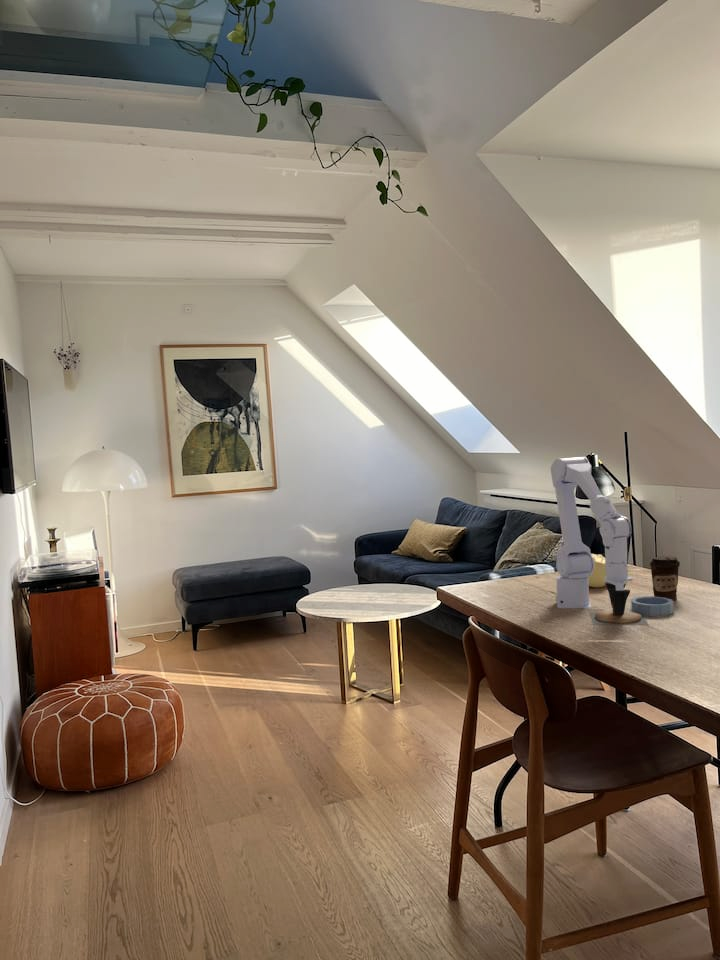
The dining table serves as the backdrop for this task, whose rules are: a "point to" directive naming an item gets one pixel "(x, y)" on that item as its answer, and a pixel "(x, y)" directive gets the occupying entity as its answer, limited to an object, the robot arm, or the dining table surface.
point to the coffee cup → (665, 576)
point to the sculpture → (598, 572)
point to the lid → (617, 617)
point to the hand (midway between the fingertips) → (617, 611)
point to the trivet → (596, 622)
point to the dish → (652, 606)
